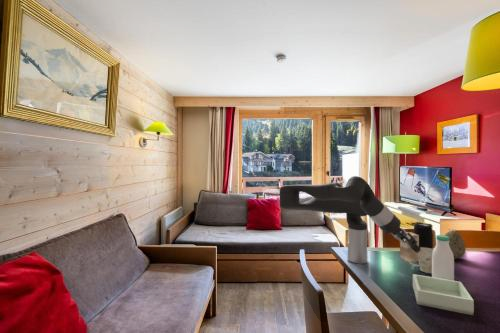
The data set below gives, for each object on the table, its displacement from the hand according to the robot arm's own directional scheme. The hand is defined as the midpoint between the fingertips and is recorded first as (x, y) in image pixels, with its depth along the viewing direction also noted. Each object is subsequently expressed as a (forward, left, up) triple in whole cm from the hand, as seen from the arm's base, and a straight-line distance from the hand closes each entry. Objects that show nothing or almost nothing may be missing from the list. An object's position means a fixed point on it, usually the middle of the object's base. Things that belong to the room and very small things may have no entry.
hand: (414, 248), depth 102 cm
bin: (+8, 0, -18) cm, 20 cm away
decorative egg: (+23, +56, -18) cm, 63 cm away
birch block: (-2, -1, -4) cm, 5 cm away
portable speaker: (+8, +45, -18) cm, 49 cm away
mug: (+6, +29, -18) cm, 35 cm away
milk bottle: (+12, +18, -18) cm, 28 cm away
